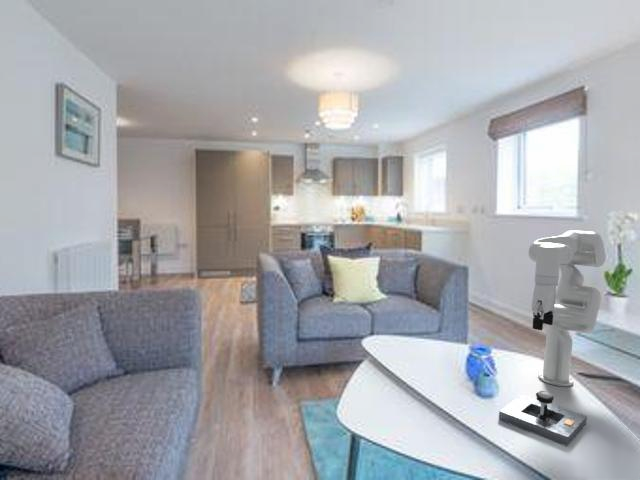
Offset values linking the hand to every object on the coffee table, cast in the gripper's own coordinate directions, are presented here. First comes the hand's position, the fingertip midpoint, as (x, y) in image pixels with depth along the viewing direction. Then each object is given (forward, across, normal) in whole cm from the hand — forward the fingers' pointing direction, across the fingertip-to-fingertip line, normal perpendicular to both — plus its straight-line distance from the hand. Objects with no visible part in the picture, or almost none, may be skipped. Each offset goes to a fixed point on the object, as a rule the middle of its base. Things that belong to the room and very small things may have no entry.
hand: (542, 326), depth 158 cm
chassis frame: (+28, +14, +7) cm, 32 cm away
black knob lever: (+28, +14, +7) cm, 33 cm away
